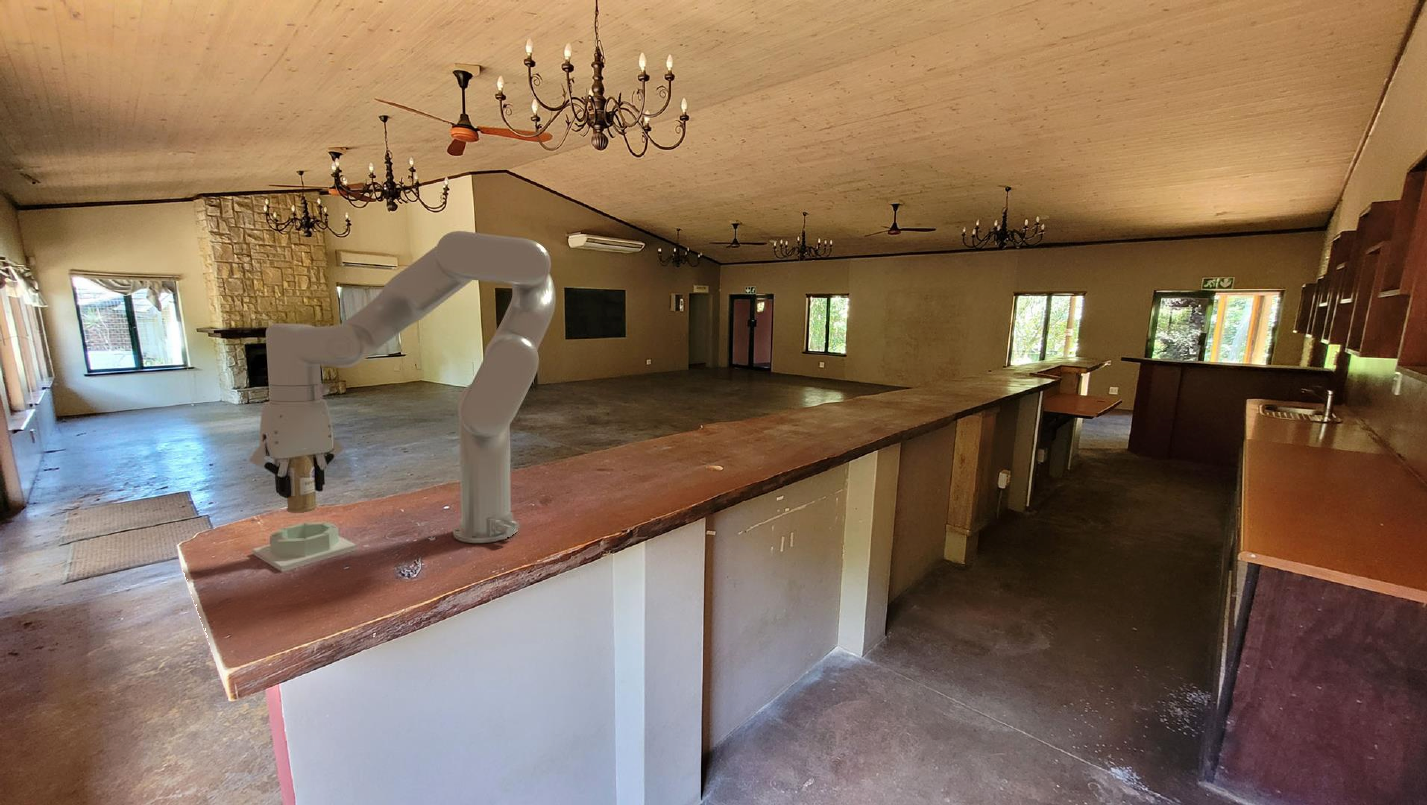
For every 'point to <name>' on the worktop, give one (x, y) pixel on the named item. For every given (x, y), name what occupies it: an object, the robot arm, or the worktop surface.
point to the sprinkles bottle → (301, 484)
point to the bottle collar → (303, 545)
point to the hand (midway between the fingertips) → (301, 492)
